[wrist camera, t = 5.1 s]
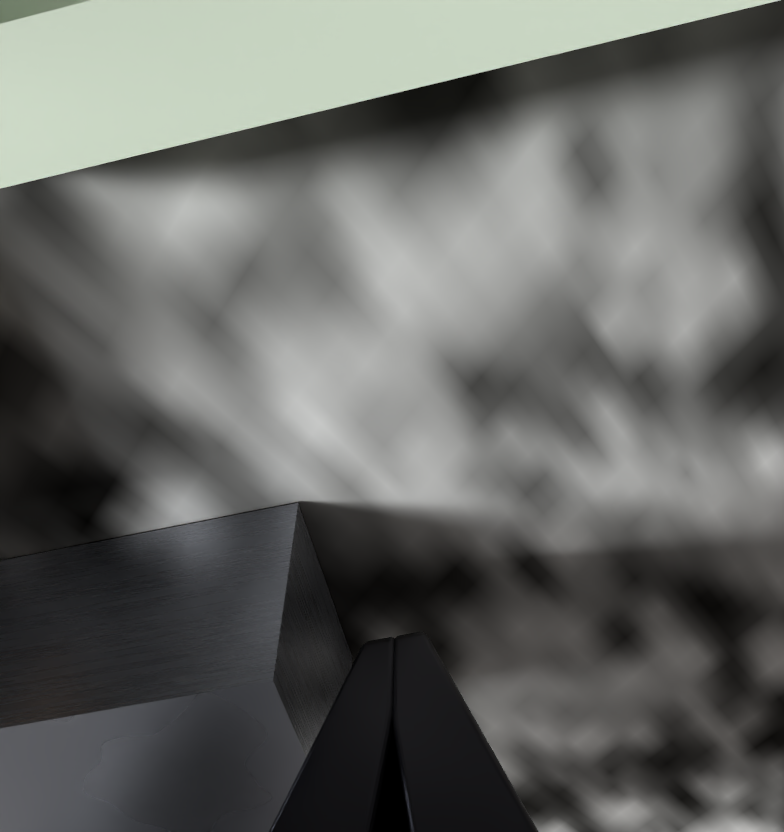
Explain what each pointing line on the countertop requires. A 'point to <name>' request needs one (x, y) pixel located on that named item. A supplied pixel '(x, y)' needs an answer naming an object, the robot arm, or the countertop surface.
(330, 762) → the robot arm
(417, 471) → the countertop surface
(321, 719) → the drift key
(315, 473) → the countertop surface
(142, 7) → the tray
